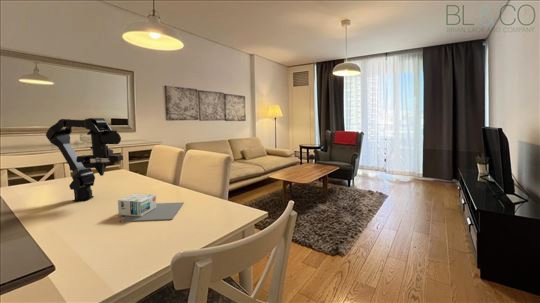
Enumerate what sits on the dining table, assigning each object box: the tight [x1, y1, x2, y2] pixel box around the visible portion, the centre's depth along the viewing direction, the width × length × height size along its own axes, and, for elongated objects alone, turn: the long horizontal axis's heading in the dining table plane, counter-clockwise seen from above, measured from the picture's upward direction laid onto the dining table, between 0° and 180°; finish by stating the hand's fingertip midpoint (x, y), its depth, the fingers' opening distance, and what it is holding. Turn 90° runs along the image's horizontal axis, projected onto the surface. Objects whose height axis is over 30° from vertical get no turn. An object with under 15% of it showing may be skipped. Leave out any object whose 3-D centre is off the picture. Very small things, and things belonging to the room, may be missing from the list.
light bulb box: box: [117, 192, 157, 217], centre depth 108 cm, size 11×7×11 cm
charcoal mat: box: [119, 201, 185, 223], centre depth 109 cm, size 20×20×1 cm
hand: (101, 175), depth 122 cm, fingers closed
